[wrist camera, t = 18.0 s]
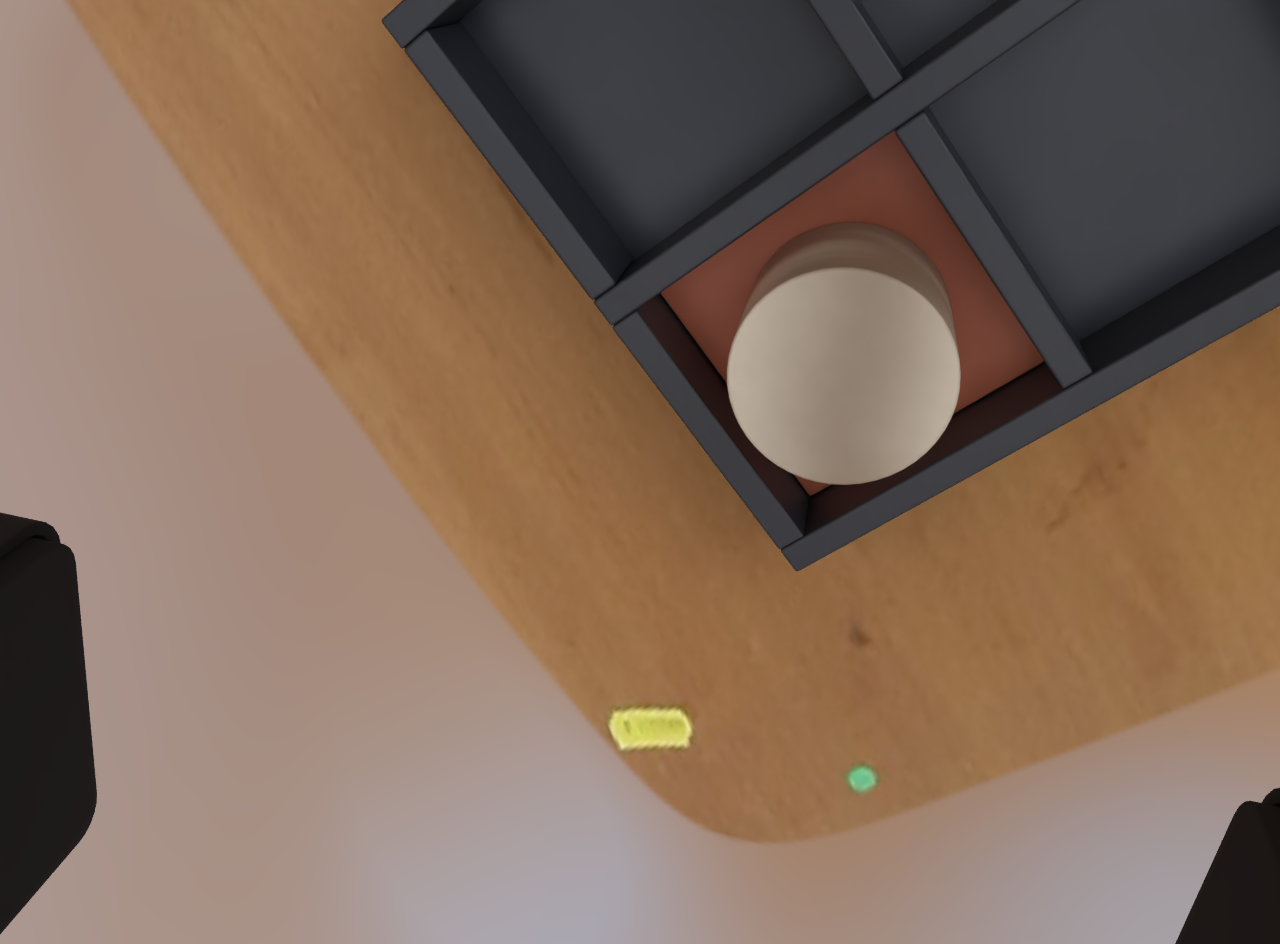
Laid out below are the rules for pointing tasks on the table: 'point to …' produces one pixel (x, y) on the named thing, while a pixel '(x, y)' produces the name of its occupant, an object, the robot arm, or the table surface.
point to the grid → (887, 189)
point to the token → (845, 355)
